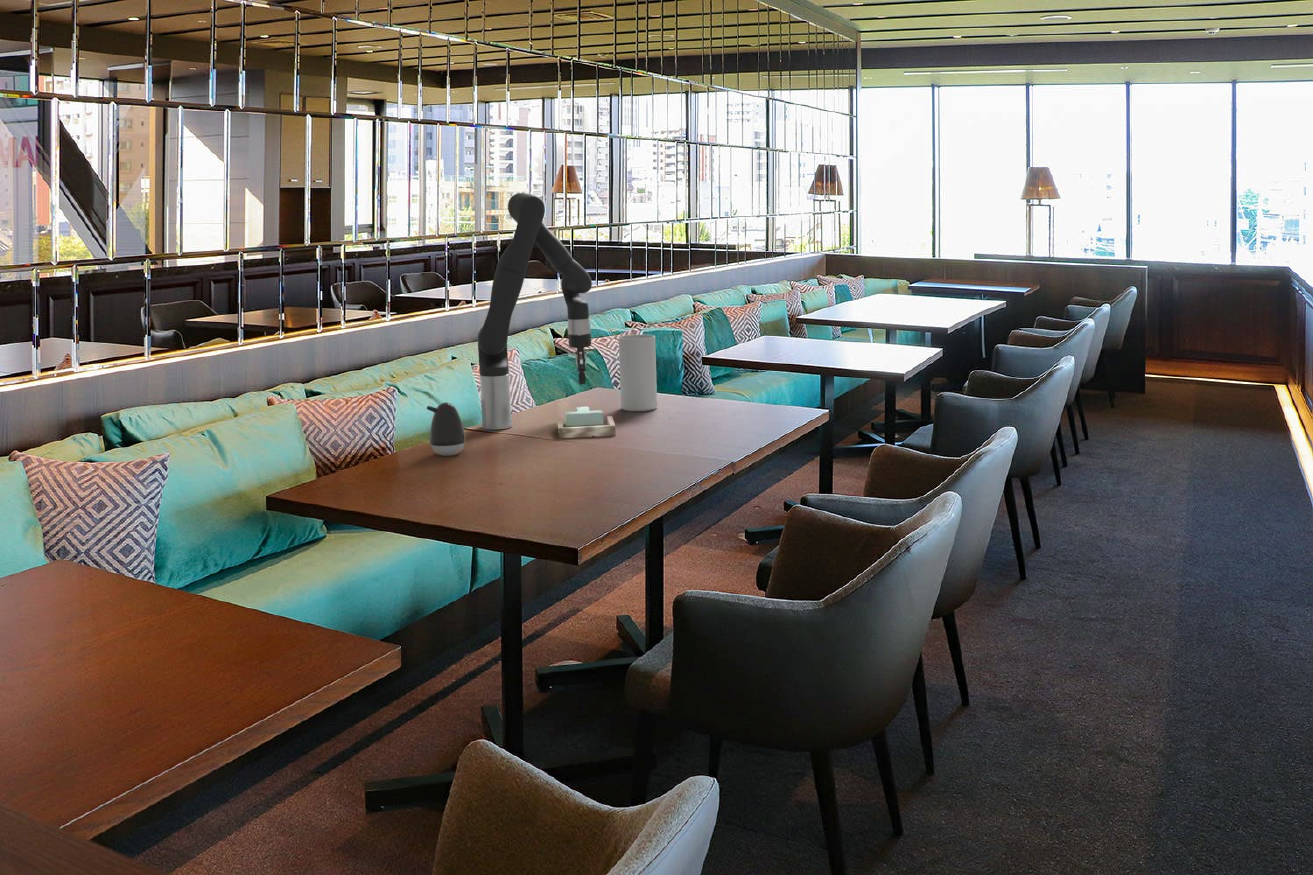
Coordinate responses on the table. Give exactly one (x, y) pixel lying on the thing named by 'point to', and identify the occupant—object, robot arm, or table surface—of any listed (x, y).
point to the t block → (584, 417)
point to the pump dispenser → (446, 430)
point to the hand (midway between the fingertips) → (582, 383)
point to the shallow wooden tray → (587, 430)
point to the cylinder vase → (637, 372)
